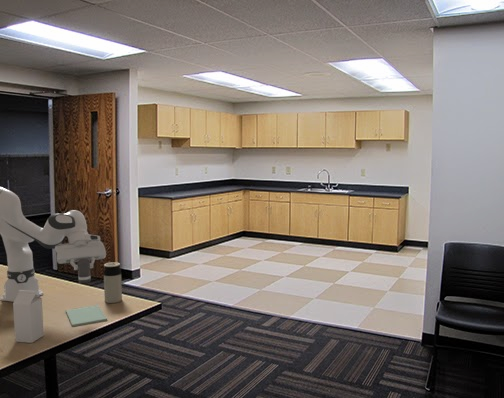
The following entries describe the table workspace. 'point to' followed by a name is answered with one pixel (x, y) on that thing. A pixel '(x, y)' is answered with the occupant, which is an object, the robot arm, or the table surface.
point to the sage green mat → (86, 315)
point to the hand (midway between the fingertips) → (84, 268)
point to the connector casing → (84, 270)
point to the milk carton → (28, 317)
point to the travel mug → (112, 282)
